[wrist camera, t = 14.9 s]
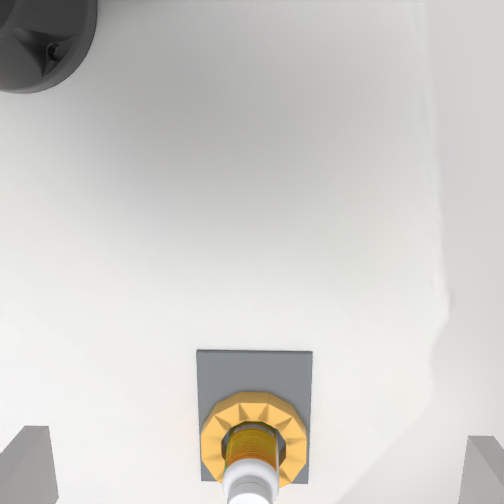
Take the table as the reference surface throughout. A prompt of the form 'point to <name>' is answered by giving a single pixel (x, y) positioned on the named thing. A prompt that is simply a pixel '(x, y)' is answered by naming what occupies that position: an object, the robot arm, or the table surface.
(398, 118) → the table surface
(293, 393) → the slate mat
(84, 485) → the table surface
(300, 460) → the golden tan faceted ring
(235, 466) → the supplement bottle
